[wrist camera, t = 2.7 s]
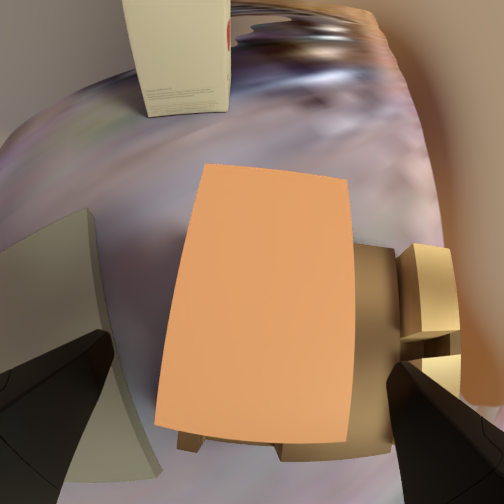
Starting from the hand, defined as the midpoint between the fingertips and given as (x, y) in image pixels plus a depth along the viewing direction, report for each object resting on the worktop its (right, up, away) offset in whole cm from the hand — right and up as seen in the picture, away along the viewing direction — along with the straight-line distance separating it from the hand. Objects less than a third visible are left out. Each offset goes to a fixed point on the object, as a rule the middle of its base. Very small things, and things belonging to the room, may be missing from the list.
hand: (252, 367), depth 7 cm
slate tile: (-16, -5, +8) cm, 18 cm away
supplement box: (-7, +22, +20) cm, 30 cm away
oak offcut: (+10, 0, +9) cm, 14 cm away
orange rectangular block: (0, -2, +8) cm, 8 cm away
